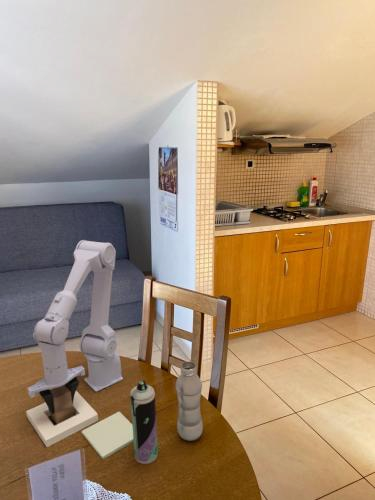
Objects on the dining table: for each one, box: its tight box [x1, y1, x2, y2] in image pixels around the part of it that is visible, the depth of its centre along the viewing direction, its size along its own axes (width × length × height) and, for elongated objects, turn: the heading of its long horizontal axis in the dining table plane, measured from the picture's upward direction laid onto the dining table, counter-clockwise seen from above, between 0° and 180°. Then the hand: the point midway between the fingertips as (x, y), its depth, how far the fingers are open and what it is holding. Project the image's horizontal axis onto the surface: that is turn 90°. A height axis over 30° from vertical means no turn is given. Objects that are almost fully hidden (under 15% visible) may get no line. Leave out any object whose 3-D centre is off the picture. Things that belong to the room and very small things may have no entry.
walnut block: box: [49, 385, 75, 425], centre depth 104 cm, size 4×4×8 cm
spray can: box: [129, 380, 159, 465], centre depth 90 cm, size 6×6×20 cm
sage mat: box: [81, 411, 134, 460], centre depth 99 cm, size 11×11×1 cm
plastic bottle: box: [175, 361, 204, 442], centre depth 96 cm, size 6×7×20 cm
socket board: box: [25, 390, 99, 448], centre depth 105 cm, size 14×14×2 cm
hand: (61, 407), depth 104 cm, fingers closed on walnut block, 4 cm apart
